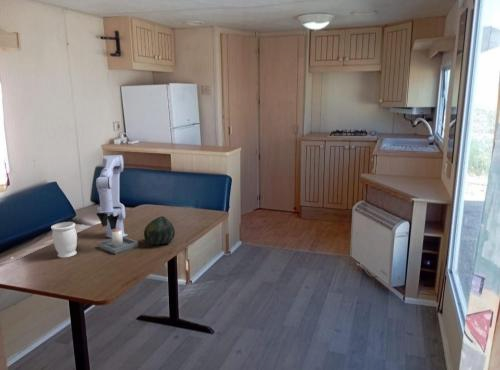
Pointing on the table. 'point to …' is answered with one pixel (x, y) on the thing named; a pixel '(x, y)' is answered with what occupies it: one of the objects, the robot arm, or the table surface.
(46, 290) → the table surface
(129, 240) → the tray
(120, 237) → the cup
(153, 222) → the squash
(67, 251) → the jar
